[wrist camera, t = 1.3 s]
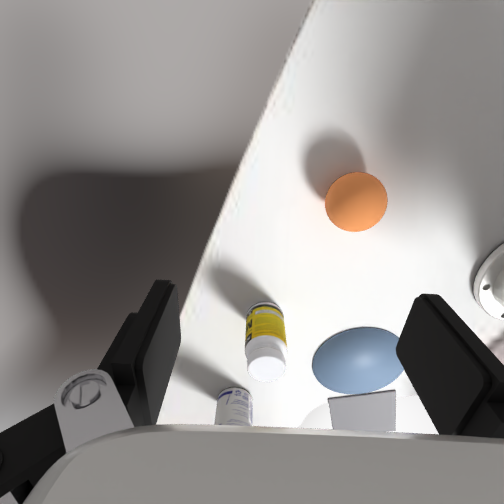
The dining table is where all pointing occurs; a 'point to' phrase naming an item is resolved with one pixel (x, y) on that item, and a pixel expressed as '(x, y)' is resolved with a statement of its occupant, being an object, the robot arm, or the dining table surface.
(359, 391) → the disc
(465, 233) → the dining table surface
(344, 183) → the ball
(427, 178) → the dining table surface
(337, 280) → the dining table surface
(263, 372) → the supplement bottle
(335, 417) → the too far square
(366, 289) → the dining table surface
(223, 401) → the energy drink
